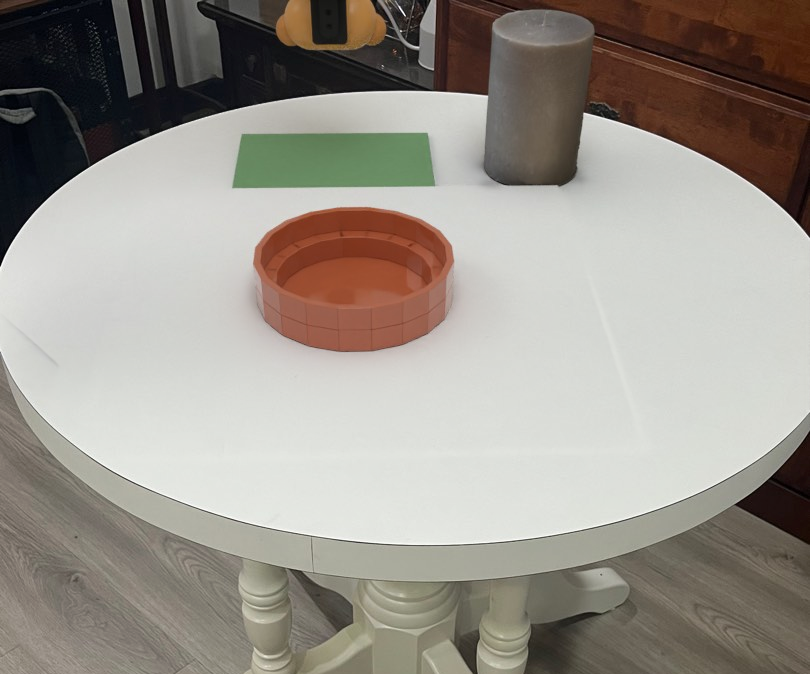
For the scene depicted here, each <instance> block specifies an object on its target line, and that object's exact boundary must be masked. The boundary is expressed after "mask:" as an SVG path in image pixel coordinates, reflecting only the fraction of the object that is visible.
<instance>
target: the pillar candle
mask: <svg viewBox="0 0 810 674" xmlns="http://www.w3.org/2000/svg"><path fill="white" fill-rule="evenodd" d="M595 33H596V32H595V26H594V24H593V23H592V22H591V21H589V19H587V18H585V17H583V16H581V15H578V14H576V13H575V14H574V13H571V12H566V11H561V10H554V9H529V10H528V9H527V10H515V11H513V12H507V13H505V14H503V15H502V16H501V17H498V18H496V19H495V20H494V21H493V22H492V28H491V45H490V46H491V47H490V62H489V75H488V89H487V90H488V92H487V105H486V107H487V108H486V119H485V136H484V137H485V138H484V155H483V167H484V170H485V173H486V174H487V175H488V176H489V177H490V178H491V179H493V180H494V181H496V182H499V183H500V184H503V185H508V186H511V187H521V186H522V187H524V186H525V187H526V186H527V187H528V186H529V187H530V186H531V187H533V186H561V185H565V184H566V183H569V182H570V181H571V180H572V179H574V178H575V176H576V174H577V172H578V158H579V149H580V145H581V137H582V130H583V123H584V113H585V106H586V100H587V95H588V87H589V77H590V72H591V64H592V56H593V48H594V39H595Z"/></svg>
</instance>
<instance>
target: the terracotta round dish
mask: <svg viewBox="0 0 810 674" xmlns="http://www.w3.org/2000/svg"><path fill="white" fill-rule="evenodd" d="M454 257H455V256H454V250H453V245H452V244H451V242H450V241H449V240H448V239H447V237H446V236H445V235H444V233H442V231H441V230H440V229H438V228H437V227H435V226H434V225H431V224H430V223H429V222H427V221H425V220H424V219H421V218H419V217H417V216H414V215H413V216H412V215H409V214H406V213H404V212H400V211H399V210H393V209H385V208H379V207H372V206H338V207H332V208H325V209H320V210H319V209H318V210H314V211H313V210H312V211H309V212H306V213H303V214H300V215H296V216H294V217H292V218H288V219H286V220H284V221H282V222H281V223H279V224H278V225H276V226H274V227H273V228H272V229H270V230H268V231H266V233H265V234H264V235H263V237H262V238H261V239H260V240H259V242H258V243H257V245H256V246H255V247H254V253H253V261H252V267H253V277H254V284H255V294H256V302H257V307H258V308H259V311H260V313H261V315H262V317H263V319H264V320H265V322H266V323H267V324H268V325H269V326H270V327H272V328H273V329H274V330H276V332H278V333H279V334H280V335H282V336H284V337H286V338H288V339H290V340H293V341H296V342H298V343H301V344H303V345H306V346H308V347H312V348H318V349H323V350H324V349H325V350H329V351H335V352H371V351H372V352H373V351H378V350H382V349H387V348H391V347H396V346H397V347H398V346H402V345H405V344H408V343H409V342H411V341H414V340H416V339H418V338H420V337H423V336H425V335H428V334H429V333H430V332H431V331H432V330H434V328H436V327H437V326H439V324H440V323H442V322H443V321H444V320H445V319H446V317H447V314H448V313H449V311H450V308H451V306H452V304H453V292H454V273H455V272H454V271H455V259H454Z"/></svg>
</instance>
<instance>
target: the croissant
mask: <svg viewBox="0 0 810 674" xmlns="http://www.w3.org/2000/svg"><path fill="white" fill-rule="evenodd" d="M346 7H347V37H348V40H347V43H346V44H343V45H316V44H314V43H313V41H312V24H311V7H310V0H288V2H287V4H286V7H285V10H284V13H283V14H281V16H280V17H279V18H278V19H277V20H276V21H277V22H276V25H275V34H276V35H277V36H276V37H277V38H278V40H279V41H280V42H281V43H283V44H284V45H285V46H288V47H295V46H298V47H300V48H301V49H304V50H307V51H354V50H358V49H361V48H363V47H364V46H366V45H367V46H377V45H379V44H380V43H382V42H383V40H384V39H385V37H386V34H387V24H386V22H385V18H384V17H382V16H381V15H380V14H379V13H378V12H376V11H377V10H376V9H375V6H374V4H373V2H372V1H371V0H346Z"/></svg>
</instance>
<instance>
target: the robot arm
mask: <svg viewBox="0 0 810 674" xmlns="http://www.w3.org/2000/svg"><path fill="white" fill-rule="evenodd" d="M310 7H311V24H312V41H313V43H314V44H316V45H343V44H346V43H347V40H348V37H347V7H346V0H310Z"/></svg>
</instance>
